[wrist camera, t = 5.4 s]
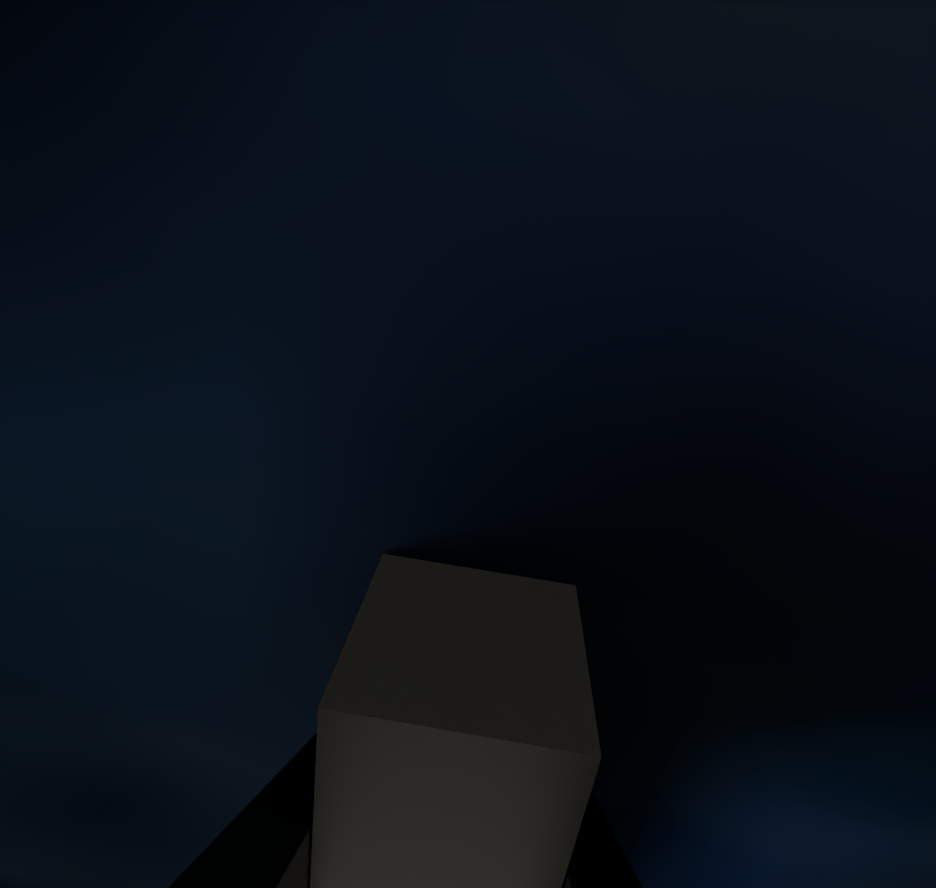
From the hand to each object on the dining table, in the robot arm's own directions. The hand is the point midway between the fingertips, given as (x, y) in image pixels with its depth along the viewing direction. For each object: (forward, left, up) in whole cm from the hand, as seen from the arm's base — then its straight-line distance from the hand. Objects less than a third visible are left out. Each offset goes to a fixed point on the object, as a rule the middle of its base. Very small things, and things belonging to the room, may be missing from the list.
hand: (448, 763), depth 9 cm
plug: (+7, 0, -1) cm, 7 cm away
